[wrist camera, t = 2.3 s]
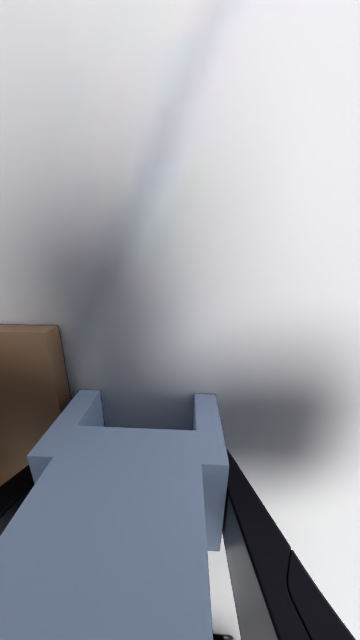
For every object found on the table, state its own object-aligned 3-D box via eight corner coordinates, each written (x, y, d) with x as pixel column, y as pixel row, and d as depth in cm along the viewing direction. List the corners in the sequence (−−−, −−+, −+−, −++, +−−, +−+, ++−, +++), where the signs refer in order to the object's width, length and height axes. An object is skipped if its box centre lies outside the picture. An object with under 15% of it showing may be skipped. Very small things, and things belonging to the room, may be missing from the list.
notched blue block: (210, 462, 10) (255, 886, 3) (90, 457, 10) (-99, 849, 4) (215, 394, 9) (303, 838, 2) (80, 389, 9) (-236, 781, 2)
